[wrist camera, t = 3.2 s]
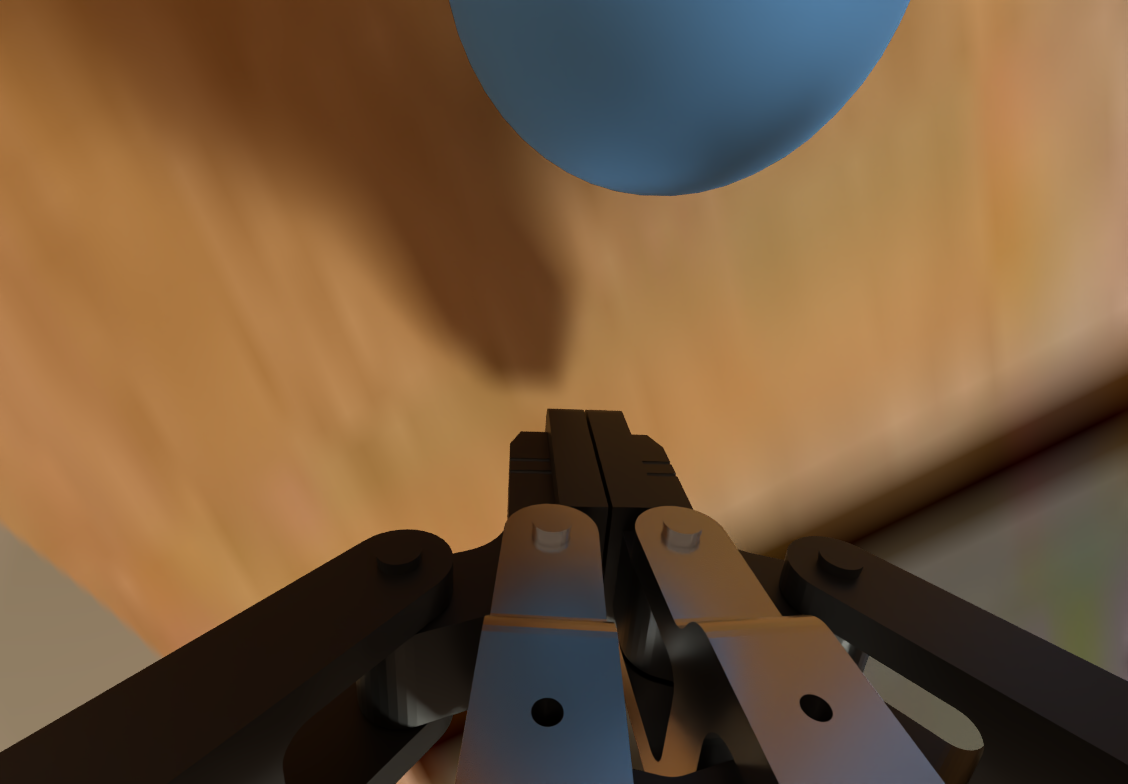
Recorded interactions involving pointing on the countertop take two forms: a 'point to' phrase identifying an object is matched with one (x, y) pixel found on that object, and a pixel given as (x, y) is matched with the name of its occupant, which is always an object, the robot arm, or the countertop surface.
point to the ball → (671, 80)
